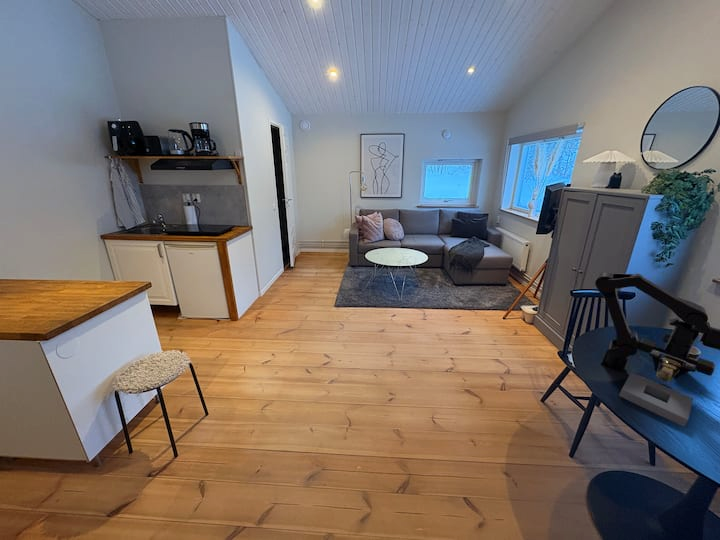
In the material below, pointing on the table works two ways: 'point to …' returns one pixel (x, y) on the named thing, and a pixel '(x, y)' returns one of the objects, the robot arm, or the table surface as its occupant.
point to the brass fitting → (667, 369)
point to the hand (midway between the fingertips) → (664, 374)
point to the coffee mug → (692, 354)
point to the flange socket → (672, 410)
